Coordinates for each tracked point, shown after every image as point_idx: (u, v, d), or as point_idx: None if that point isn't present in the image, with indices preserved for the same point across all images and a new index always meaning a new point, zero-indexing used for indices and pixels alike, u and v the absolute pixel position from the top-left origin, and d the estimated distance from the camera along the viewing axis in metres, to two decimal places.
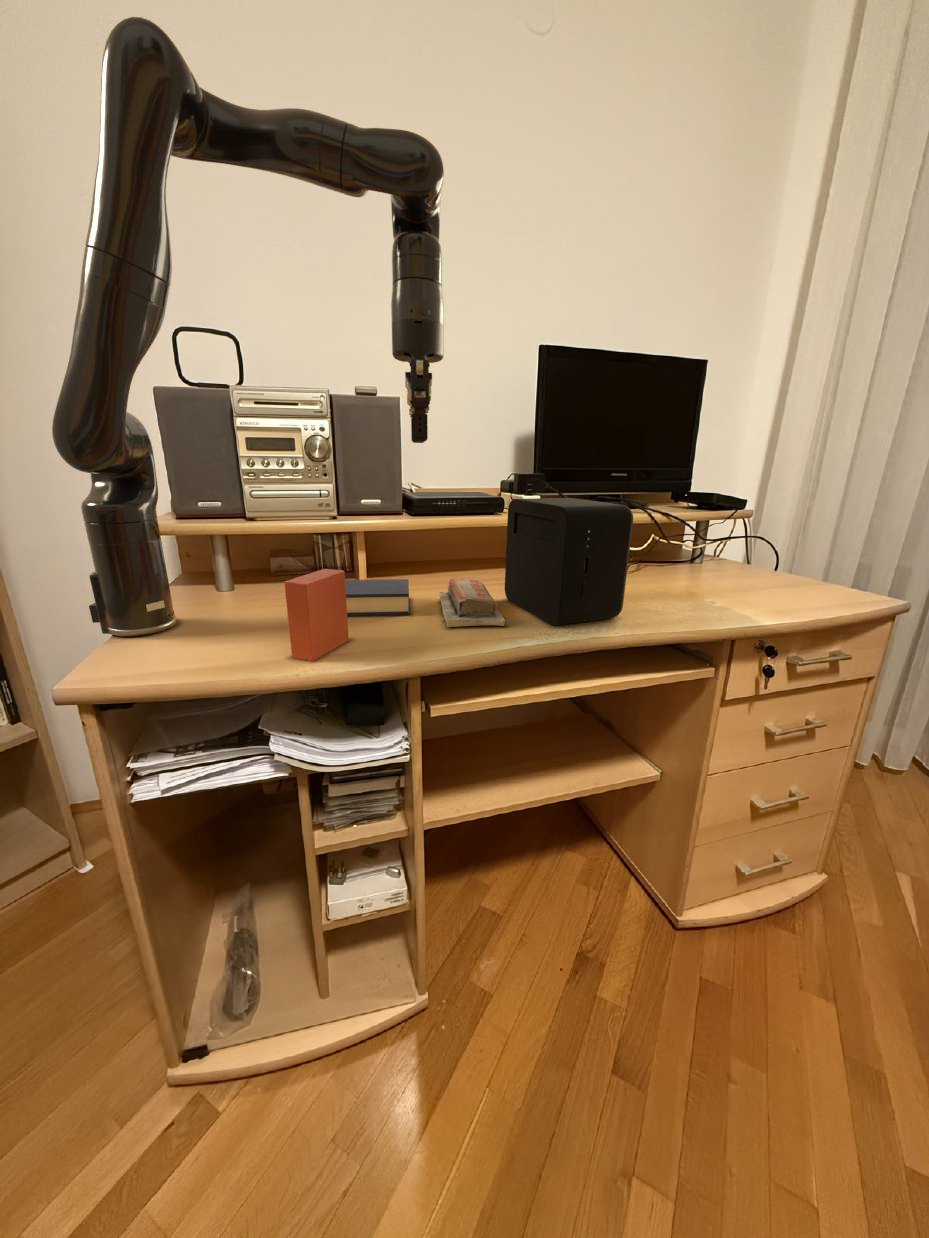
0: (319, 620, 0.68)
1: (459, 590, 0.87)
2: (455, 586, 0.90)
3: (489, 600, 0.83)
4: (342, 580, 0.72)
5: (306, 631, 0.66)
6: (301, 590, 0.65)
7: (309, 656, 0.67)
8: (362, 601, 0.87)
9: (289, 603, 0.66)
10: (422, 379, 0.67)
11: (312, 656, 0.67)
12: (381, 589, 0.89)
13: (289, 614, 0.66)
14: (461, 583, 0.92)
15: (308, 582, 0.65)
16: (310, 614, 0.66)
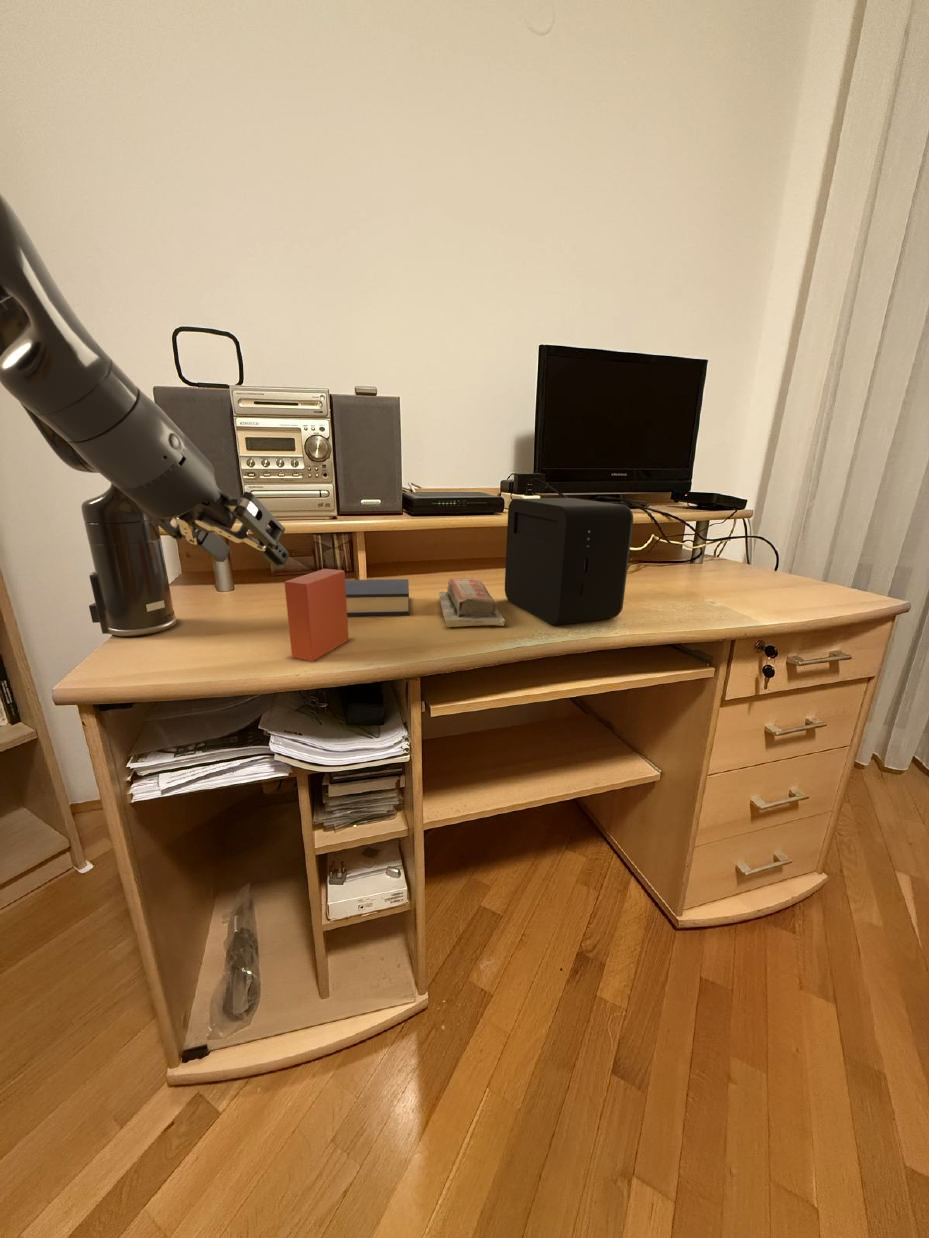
0: (319, 620, 0.68)
1: (459, 590, 0.87)
2: (455, 586, 0.90)
3: (489, 600, 0.83)
4: (342, 580, 0.72)
5: (306, 631, 0.66)
6: (301, 590, 0.65)
7: (309, 656, 0.67)
8: (362, 601, 0.87)
9: (289, 603, 0.66)
10: (263, 516, 0.48)
11: (312, 656, 0.67)
12: (381, 589, 0.89)
13: (289, 614, 0.66)
14: (461, 583, 0.92)
15: (308, 582, 0.65)
16: (310, 614, 0.66)
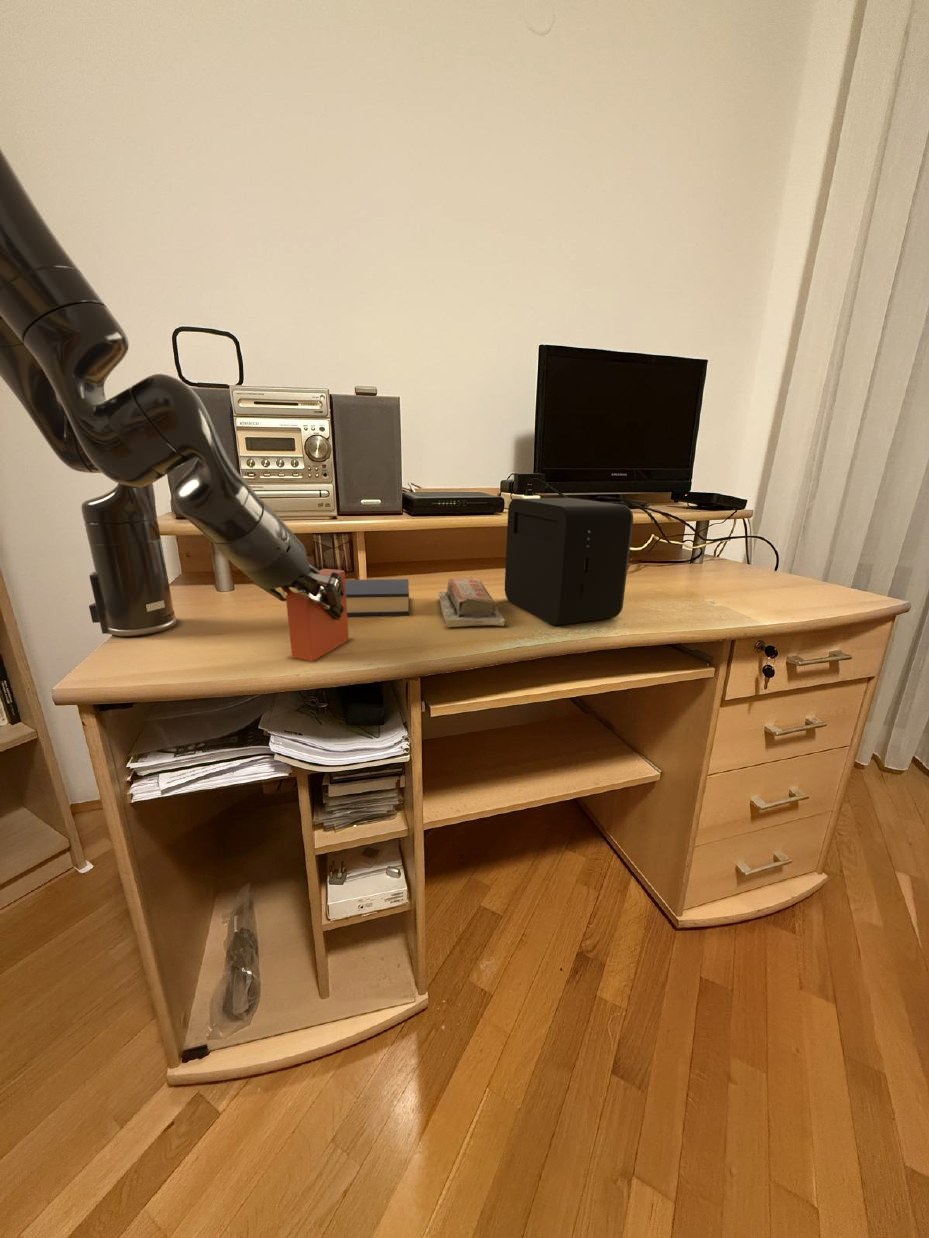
0: (319, 620, 0.68)
1: (459, 590, 0.87)
2: (454, 586, 0.90)
3: (489, 600, 0.83)
4: (342, 580, 0.72)
5: (306, 631, 0.66)
6: None
7: (309, 656, 0.67)
8: (362, 601, 0.87)
9: (289, 603, 0.66)
10: (340, 588, 0.64)
11: (312, 656, 0.67)
12: (381, 589, 0.89)
13: (289, 614, 0.66)
14: (460, 583, 0.92)
15: None
16: (310, 614, 0.66)
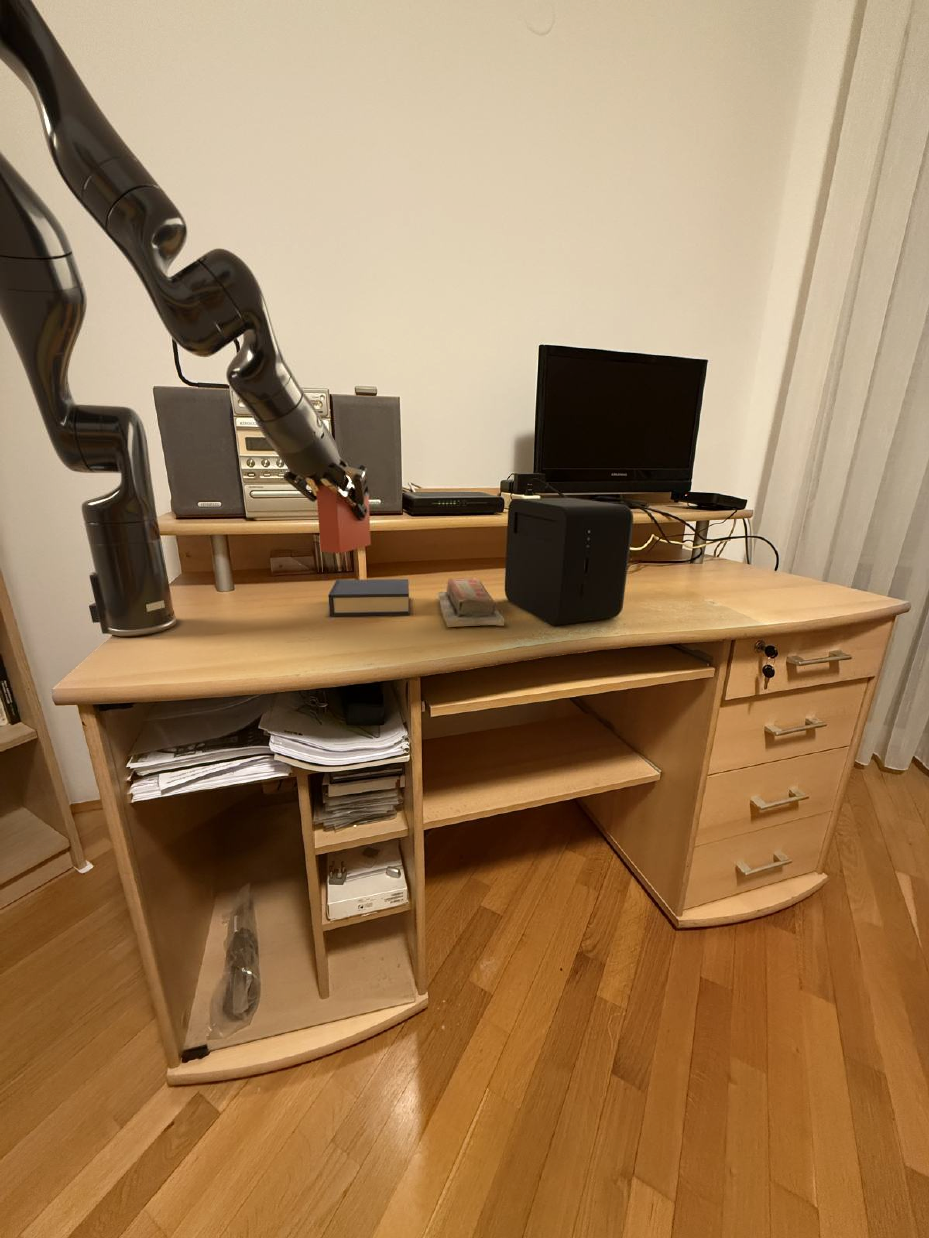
0: (345, 516, 0.74)
1: (459, 590, 0.87)
2: (454, 586, 0.90)
3: (489, 600, 0.83)
4: None
5: (334, 524, 0.73)
6: None
7: (337, 549, 0.74)
8: (362, 601, 0.87)
9: (319, 499, 0.73)
10: (365, 483, 0.71)
11: (340, 548, 0.74)
12: (381, 589, 0.89)
13: (319, 509, 0.73)
14: (460, 583, 0.92)
15: None
16: (339, 508, 0.73)
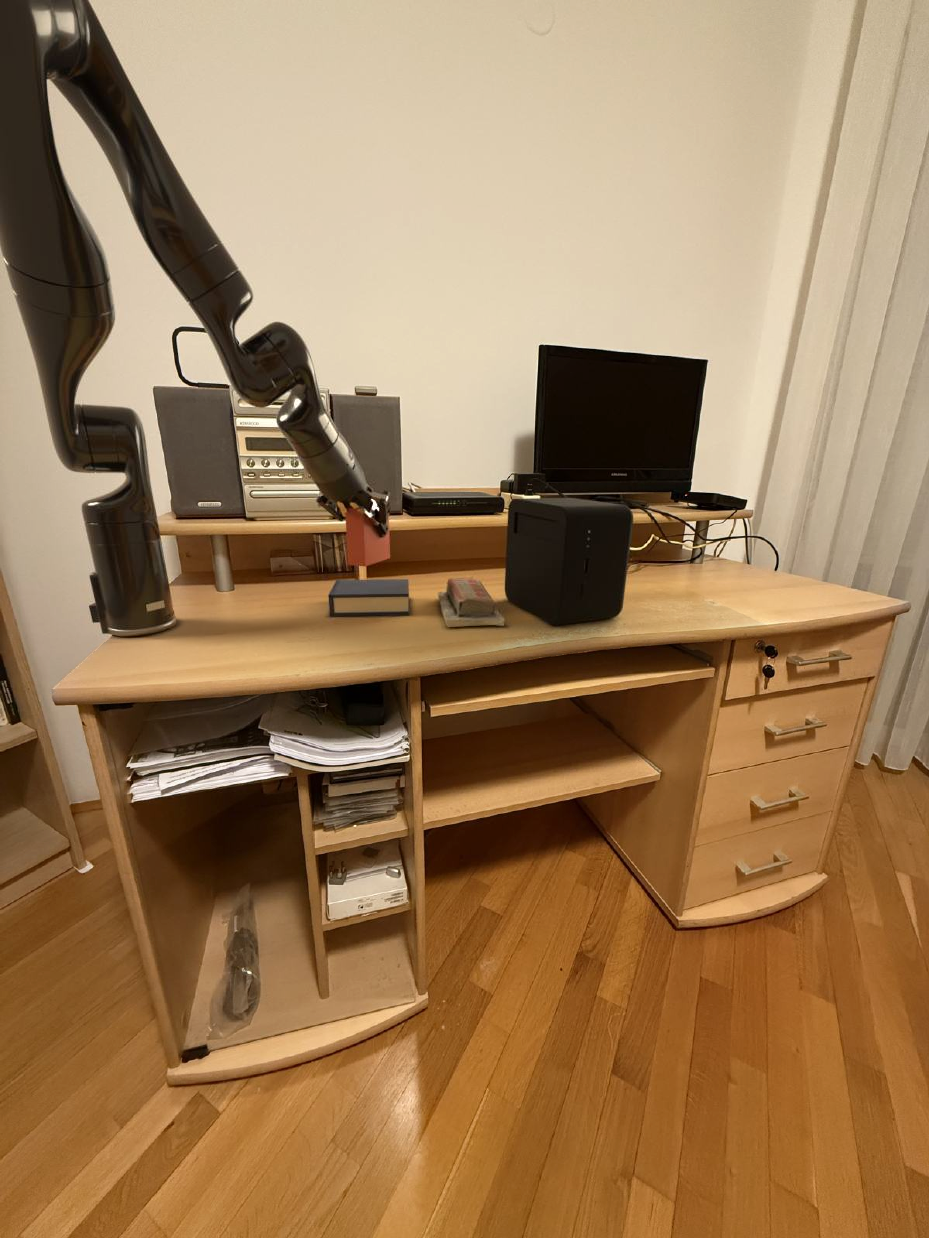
0: (370, 534, 0.85)
1: (459, 590, 0.87)
2: (454, 586, 0.90)
3: (489, 600, 0.83)
4: None
5: (361, 541, 0.84)
6: None
7: (363, 562, 0.85)
8: (362, 601, 0.87)
9: (348, 519, 0.84)
10: (388, 505, 0.82)
11: (365, 562, 0.85)
12: (381, 589, 0.89)
13: (347, 528, 0.84)
14: (460, 583, 0.92)
15: None
16: (365, 527, 0.83)
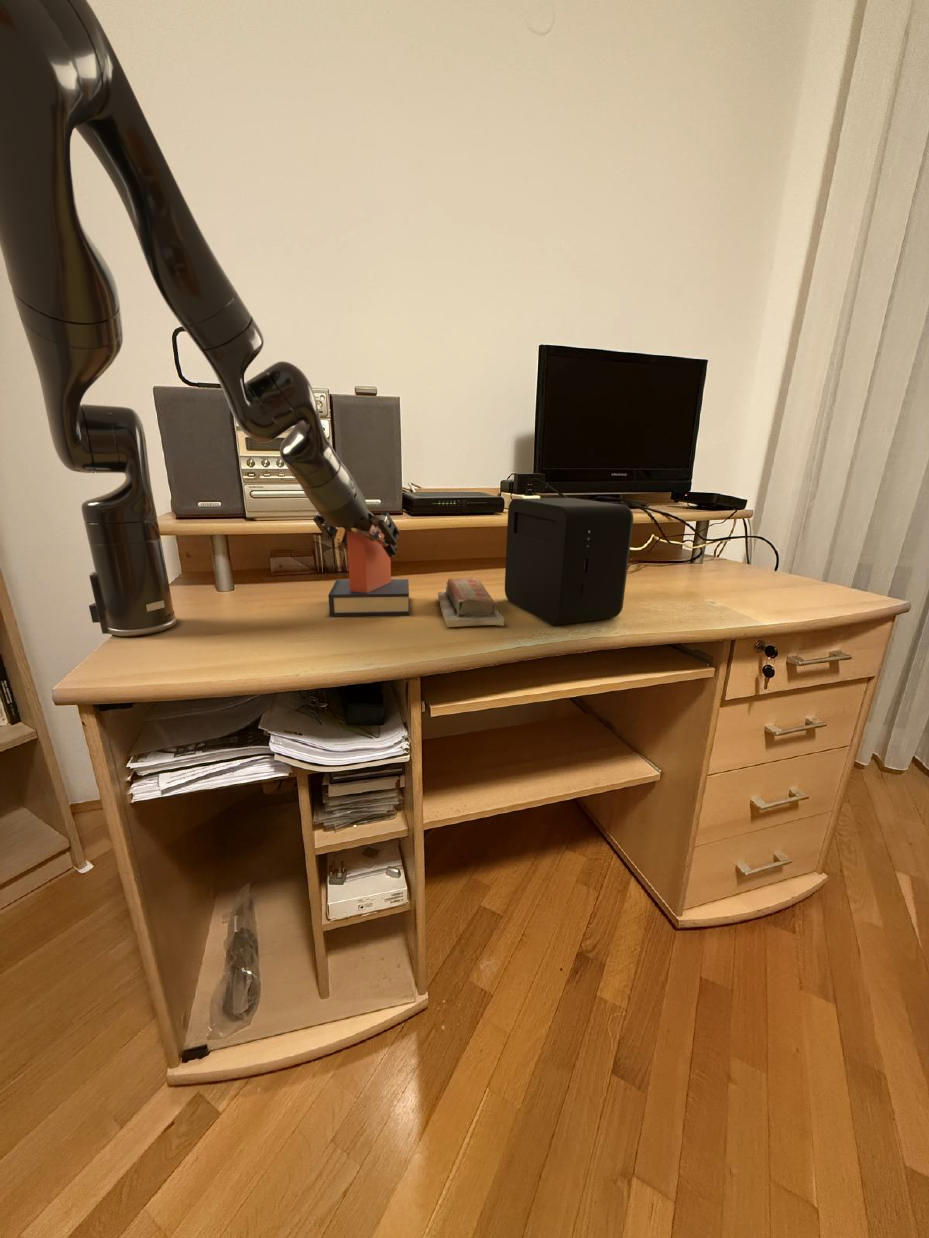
0: (371, 561, 0.87)
1: (458, 590, 0.87)
2: (454, 586, 0.90)
3: (488, 600, 0.83)
4: None
5: (362, 569, 0.85)
6: (360, 536, 0.84)
7: (364, 589, 0.86)
8: (362, 601, 0.87)
9: (349, 547, 0.85)
10: (391, 525, 0.82)
11: (367, 589, 0.86)
12: (381, 589, 0.89)
13: (349, 556, 0.86)
14: (460, 583, 0.92)
15: None
16: (366, 555, 0.85)
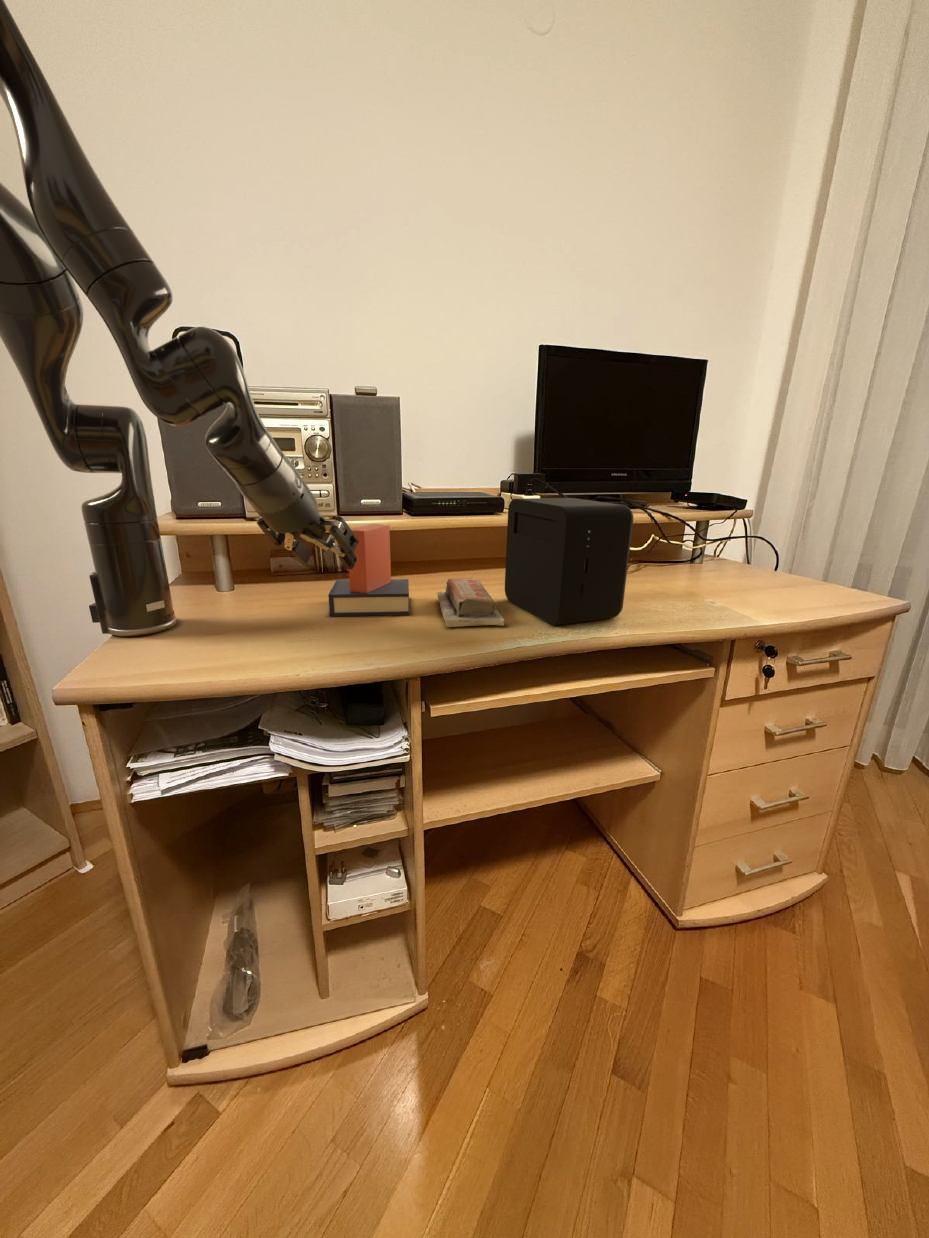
0: (371, 561, 0.87)
1: (458, 590, 0.87)
2: (454, 586, 0.90)
3: (488, 600, 0.83)
4: (387, 533, 0.91)
5: (362, 569, 0.85)
6: (360, 536, 0.84)
7: (364, 589, 0.86)
8: (362, 601, 0.87)
9: None
10: (347, 532, 0.70)
11: (367, 589, 0.86)
12: (381, 589, 0.89)
13: None
14: (459, 583, 0.92)
15: (364, 530, 0.84)
16: (366, 555, 0.85)
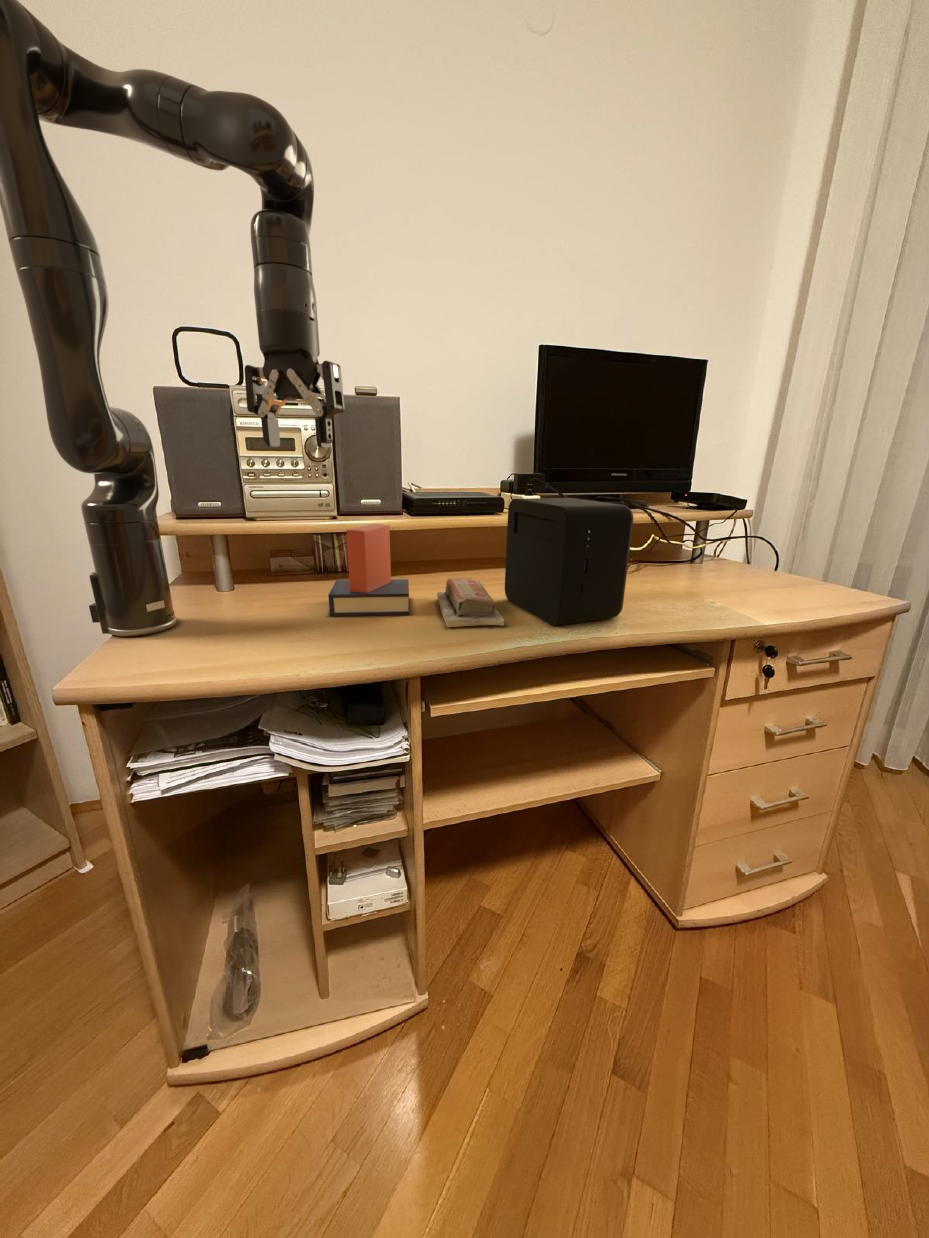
0: (371, 561, 0.87)
1: (458, 590, 0.87)
2: (453, 586, 0.90)
3: (488, 600, 0.83)
4: (387, 533, 0.91)
5: (362, 569, 0.85)
6: (360, 536, 0.84)
7: (364, 589, 0.86)
8: (362, 601, 0.87)
9: (349, 547, 0.85)
10: (338, 384, 0.64)
11: (367, 589, 0.86)
12: (381, 589, 0.89)
13: (349, 556, 0.86)
14: (459, 583, 0.92)
15: (364, 530, 0.84)
16: (366, 555, 0.85)
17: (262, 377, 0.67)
